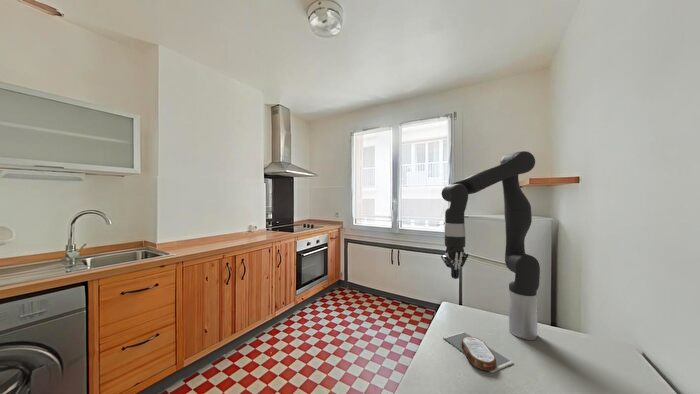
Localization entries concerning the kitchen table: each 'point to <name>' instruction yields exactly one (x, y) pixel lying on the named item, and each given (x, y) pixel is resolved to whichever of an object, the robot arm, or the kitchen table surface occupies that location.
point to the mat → (500, 360)
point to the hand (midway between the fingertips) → (455, 278)
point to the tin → (478, 353)
